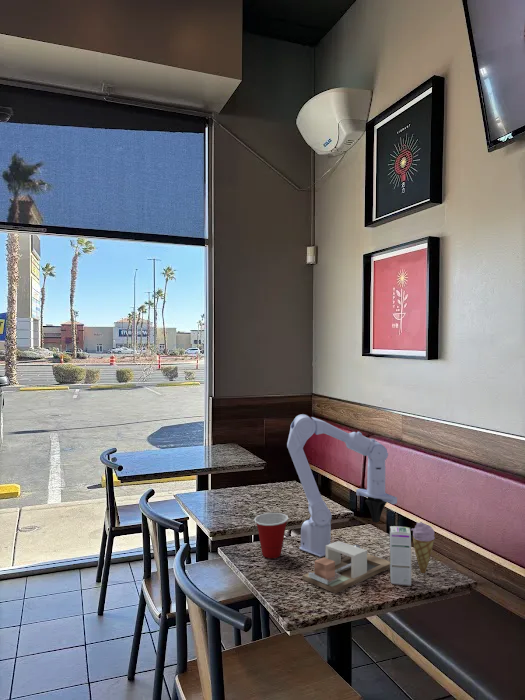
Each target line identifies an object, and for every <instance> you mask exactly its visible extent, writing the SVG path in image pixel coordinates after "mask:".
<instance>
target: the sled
mask: <svg viewBox="0 0 525 700" xmlns="http://www.w3.org/2000/svg"><path fill="white" fill-rule="evenodd" d="M352 545H353V546H356V547H359V548H361V545H360V544H352ZM349 568H351V563H350V564H348V565H345V566H343V567H341V568H338V569H336V570H335V576H334V577H331V578H329V579H325V578H323V577H321V576H318V575H316V574H315V572H314V573H311V571H309V572H308V573H309V577H310V578H312V579H315V580H317V581H320V582H322V583H324V584H327V585H328V584H330V583H333V582H335V581H337V580H339V579H341V574H338V573H340V572H342V571H345V570H347V569H349Z"/></svg>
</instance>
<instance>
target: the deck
mask: <svg viewBox="0 0 525 700" xmlns="http://www.w3.org/2000/svg"><path fill="white" fill-rule="evenodd" d="M350 563H351V557H350V556H344V557H343V558H341V563H340V564H337V565H335V570H336V569H338V568H341V567H343V566H345V565H348V564H350ZM388 569H389V570H390V560H387V559H384V558H380V557H378V556H375V555H372V554H369V553H367V573H365V574H363V575H361V576H359V577H356V578H351V568H349V569H347V570H345V571H342V572H340V573H338V574H341V579H339V580H337V581H335V582H333V583H330V584H328V585H327V584H324V583H322V582H320V581H317V580H315V579H312V578H310V577H309V572H307V573H304V574H302V578H301V579H302V580H303V581H305V582H308V583H309V584H310V583H311V585H315V586H317V587H319V588H322V589H324V590H326V591H327V592H328V591H329V592H330V593H333V594H339V593H340V592H343V591H344V590H346V588H347V589H348V587H349V588H350V586H351V587H353V586H355V585H358V584H359V583H362V582H363V581H365V580H367V579H369V578H371V577H373V576H376V575H378V574H380V573H382V572H385V571H386V570H388ZM310 572H311V573H314V572H315V569H314V570H312V571H310ZM352 585H353V586H352Z"/></svg>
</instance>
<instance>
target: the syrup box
mask: <svg viewBox="0 0 525 700" xmlns="http://www.w3.org/2000/svg"><path fill="white" fill-rule="evenodd" d="M410 530H411V527H408V526H400V525H397V526H395V525H393V526H392V525H391V526H390V525H389V561H390V568H389V570H390V571H389V574H390V575H389V578H390V583H391V584H393V585H400V586H412V535H411V531H410Z"/></svg>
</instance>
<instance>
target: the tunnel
mask: <svg viewBox="0 0 525 700" xmlns="http://www.w3.org/2000/svg"><path fill="white" fill-rule="evenodd" d="M353 545H354V544H350V543H346V542H343V541H340V540H337V541H334V542H331V544H328V545H326V548H325V557H324V558H327V559H330V560H332V561H335V565H337V564H340V563H341V559H342V555H344V556H346V557H348V556H350V557H351V578H356V577H359V576H361V575H363V574H365V573H367V554H368V550H367V549H365V548H362V547H360V548H359V547H356V546H353Z"/></svg>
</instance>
